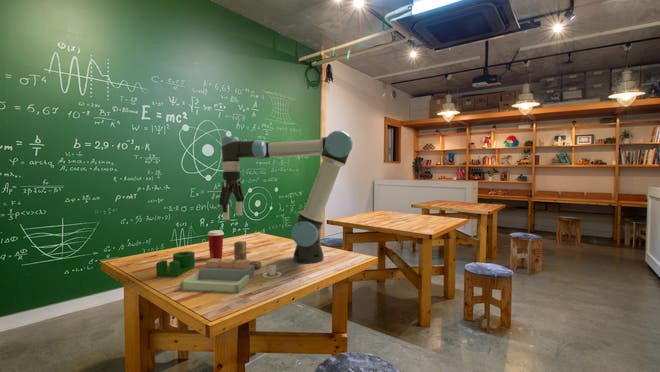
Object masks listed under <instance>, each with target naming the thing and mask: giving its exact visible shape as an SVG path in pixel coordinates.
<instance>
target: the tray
mask: <svg viewBox="0 0 660 372" xmlns="http://www.w3.org/2000/svg"><path fill="white" fill-rule="evenodd" d="M249 283H250V280H249V275H246V276H244V277H243V278H242V279H241V280H240V281H232V280H211V279H199V272H195V273H193V274H191V275H190V276H189V277H187V278H185V279H184V280H183V279H182V280H181V281H180V282H179V285H180V287H179V289H180V291H188V292H189V291H191V292H192V291H193V292H194V291H195V292H210V293H211V292H214V293H226V294H227V293H230V294H239V293H240V292H241V291H242V290H243V289H244V288H245V287H247V285H249Z"/></svg>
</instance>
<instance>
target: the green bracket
mask: <svg viewBox="0 0 660 372" xmlns="http://www.w3.org/2000/svg"><path fill="white" fill-rule="evenodd" d="M168 263H169V264H168ZM168 265H169V266H168ZM195 265H196V262H195V252H194V251H189V250H187V251H180V252H175V253H173V254H172V261H169V262H168V260H165V259H164V260H160V261H158V262H156V263H155V267H156V270H155V272H156V273H155V274H156V277H158V278H160V277H162V278H179V277H180V276H182V275H183V274H184V273H186V272H188V271H190V270H191V269H194V268H195Z"/></svg>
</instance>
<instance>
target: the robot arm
mask: <svg viewBox="0 0 660 372" xmlns="http://www.w3.org/2000/svg"><path fill="white" fill-rule="evenodd" d="M352 149H353V139H352V137H351V136H350V135H349V133H347V132H345V131H343V130H334V131H332V132H330V133H329V134H328V135H327V136H326V137H321V138H320V139H311V140H310V139H309V140H294V141H293V140H291V141H276V142H275V141H274V142H273V141H272V142H266V141H264V140H243V141H242V140H240V138H239V137H237V136H223V137H222V138H221V158H222V159H221V161H222V164H221V166H222V171H223V172H222V180H223V181H224V182H222V183H221V187H222V188H221V191H220V192H221V193H220V196H219V200H218V201H219V203H218V204H219V205H220V206H222V210H221V211H222V221H230V205H229V201H230V199H231V195H232V193H233V196H234V197H235V215H236V216H243V202H244V201H245V198H244V193H243V189H242V184H241V181H240V179H241V172H240V170H241V167H240V166H241V162H240V159H243V158H249V159H250V158H253V159H257V160H263V159H274V158H277V159H278V158H291V157H311V156H313V157H314V156H320V157H321V160H322V161H321V164H320V165H319V169H318V172H317V175H316V177H315V180H314V182H313V185H312V188H311V190H310V192H309V196H308V198H307V201H306V204H305V207H304V209H303V210H301V211H300V212H299V213H297V215H296V221H295V223H294V225H293V227H292V229H291V237H292V239H293V242H294V243H295V244H296V245H295V249H294V251H293V258H292V259H293V261H294V262H296V263H300V264H315V263H319V262H322V261H324V257H325V256H324V252H323V247H322V246H321V229H322V226H323V224H324V218H323V214H324V213H325V208H326V207H327V203H328V201H329V198H330V196H331V193H332V191H333V188H334V185H335V183H336V179H337V178H338V174H339V172H340V169H341V167H343V166H346V162H347V160H348V158H349V155H350V153H351V151H352Z"/></svg>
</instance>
